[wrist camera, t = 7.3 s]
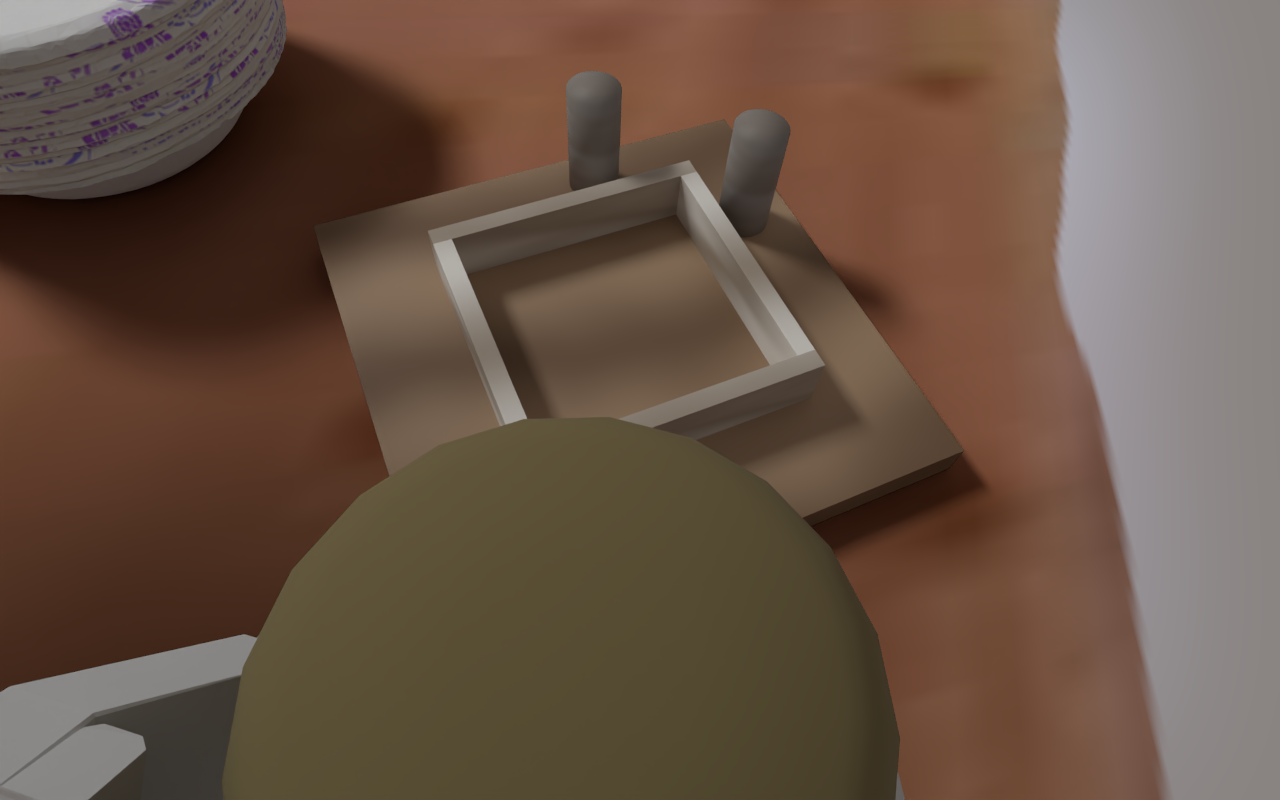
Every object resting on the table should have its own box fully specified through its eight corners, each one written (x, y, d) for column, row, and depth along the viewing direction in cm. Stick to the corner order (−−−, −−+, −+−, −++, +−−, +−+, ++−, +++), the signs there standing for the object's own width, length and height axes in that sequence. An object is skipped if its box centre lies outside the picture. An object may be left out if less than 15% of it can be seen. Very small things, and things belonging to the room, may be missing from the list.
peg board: (323, 249, 28) (272, 131, 24) (720, 143, 32) (740, 25, 28) (454, 675, 21) (415, 619, 16) (948, 468, 25) (1026, 378, 20)
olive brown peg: (370, 982, 13) (-200, 1311, 3) (449, 617, 16) (262, 265, 7) (733, 1020, 13) (1149, 1447, 4) (742, 649, 16) (974, 345, 7)
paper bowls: (335, 214, 29) (257, 11, 22) (-137, 300, 26) (-394, 96, 19) (297, -16, 36) (229, -220, 30) (-74, 30, 33) (-244, -187, 27)
